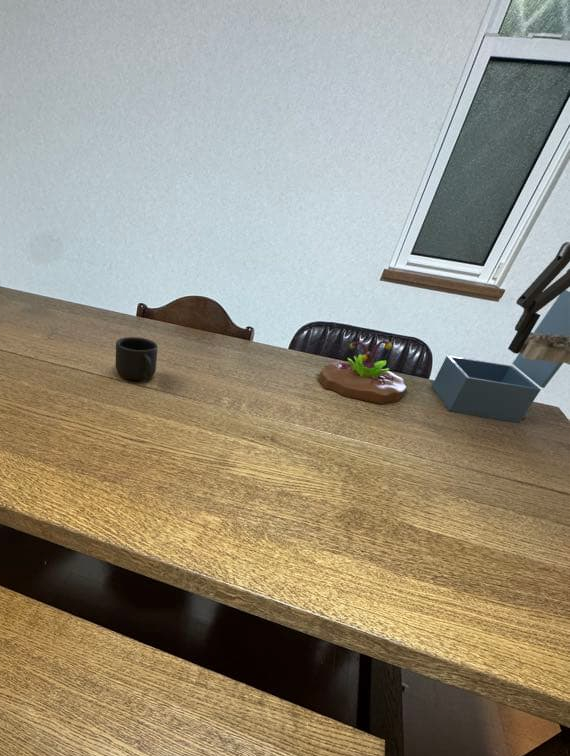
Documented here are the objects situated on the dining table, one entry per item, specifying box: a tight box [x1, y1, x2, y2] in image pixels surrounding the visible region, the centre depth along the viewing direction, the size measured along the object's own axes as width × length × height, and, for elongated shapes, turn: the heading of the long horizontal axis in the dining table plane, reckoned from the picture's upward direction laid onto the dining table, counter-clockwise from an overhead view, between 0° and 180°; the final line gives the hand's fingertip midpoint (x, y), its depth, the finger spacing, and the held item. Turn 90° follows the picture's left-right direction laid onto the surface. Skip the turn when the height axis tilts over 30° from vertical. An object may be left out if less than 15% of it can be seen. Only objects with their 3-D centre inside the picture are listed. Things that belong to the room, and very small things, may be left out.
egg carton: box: [518, 331, 570, 365], centre depth 81 cm, size 11×8×4 cm
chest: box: [431, 355, 542, 423], centre depth 107 cm, size 16×16×8 cm
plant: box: [318, 339, 408, 405], centre depth 107 cm, size 20×20×11 cm
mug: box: [114, 336, 159, 382], centre depth 98 cm, size 12×9×7 cm
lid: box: [511, 289, 570, 389], centre depth 98 cm, size 16×16×5 cm
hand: (545, 355), depth 82 cm, fingers closed on egg carton, 11 cm apart
